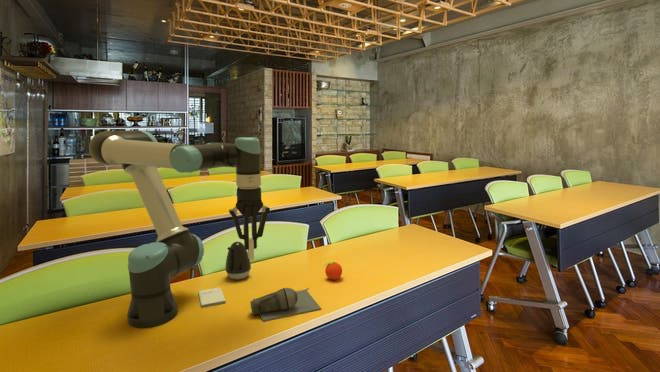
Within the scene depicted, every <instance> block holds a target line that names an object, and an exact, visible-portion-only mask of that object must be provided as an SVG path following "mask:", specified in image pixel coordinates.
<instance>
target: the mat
mask: <svg viewBox="0 0 660 372" xmlns="http://www.w3.org/2000/svg"><path fill="white" fill-rule="evenodd" d="M302 290H303V289H301V290H295V291H296V293H297V292H300V291H302ZM297 297H298V300H297V303H296V304H295V306H294V307H292V308H290V309H287V310H278V311H273V312H267V313H262V314H259V316H260V319H261V320H262V322H268V321H272V320H277V319H283V318H287V317H292V316H297V315H302V314H306V313H307V314H308V313H311V312H316V311H320V310H322V307H321V306H320V305H319V303H318V301H316V300H315V299H314V297H313V296H312V295H311V294H310V292H309V290H306V291H304V292H301V293H299V294H297ZM255 299H257V298H252V300H255Z"/></svg>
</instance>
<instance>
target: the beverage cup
mask: <svg viewBox="0 0 660 372" xmlns="http://www.w3.org/2000/svg"><path fill="white" fill-rule="evenodd" d="M301 290H302V291H300V290H299V291H300V292H297V293H296V291H297V290H295V289H293V288H291V287H283V288H281V289H279V290H277V291H275V292H272V293H268V294H266V295H263V296H259V297H258V298H257V299H256V298H254V299H255V300H253V299H252V300H250V301H249V303H250V308H251V315H253V316H254V315H260V314H262V313H267V312H273V311H278V310H287V309H290V308H292V307H294V306H295V304H296V303H297V300H298V297H297V294H299V293H301V292H304V291H306V290H307V291H309V290H310V288H309V287H308V288H305V289H301Z"/></svg>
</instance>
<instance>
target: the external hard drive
mask: <svg viewBox="0 0 660 372" xmlns="http://www.w3.org/2000/svg"><path fill="white" fill-rule="evenodd" d="M197 293H198V298H199V303H200V307H201V308H209V307H214V306H218V305H224V304H227V303H226V302H227V301H226V299H225V296H224V293H223V291H222V288H221V287H214V288H208V289H203V290H202V289H201V290H199V291H197Z"/></svg>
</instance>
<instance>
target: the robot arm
mask: <svg viewBox="0 0 660 372" xmlns="http://www.w3.org/2000/svg"><path fill="white" fill-rule="evenodd" d="M260 145H261V144H260V139H259V138H258V137H252V136H251V137H247V136H246V137H245V136H244V137H243V136H242V137H236V138H235V139H234V143H228V142H226V143H225V142H208V143H204V144H182V143H171V142H158V140H157V138H156V137H155V136H154V135H153V134H152V133H151V132H149V131H147V130H140V129H132V130H131V129H130V130H106V131H105V130H104V131H101V132H99V133H97V134H95V135H94V136H93V137H92V138H91V140H89V144H88V153H89V155H90V156H91V158H92V159H93V160H94V161H95V162H96V163H98V164H100V165H103V166H120V165H121V166H122V168H123V171H124V172H125V173H126V174H129V175H131V177H132V179H133V182H134V185H135V186H136V189H137V191H138V193H139V195H140V198H141V201H142V202H143V206H144V207H145V209H146V212H147V214H148V216H149V218H150V221H151V224H152V225H153V227H154V229H155V232H156V234H157V238H156V241H155V242H150V243H144V244H142V245H140V246H139V245H138V246H137V247H135V248H133V250H131V251H130V252H129V254H128V257H127V261H128V262H127V263H128V264H127V269H128V274H129V284H130V297H131V298H130V301H129V305H128V310H127V315H126V318H127V324H128V325H129V326H132V327H135V328H140V327H144V328H152V327H157V326H160V325H163V324H165V323H167V322H169V321H171V320H173V319H174V318H175V317H176V316H177V315H178V313H179V306H178V303H177V300H176V298H175V297H174V294H173V292H172V289H171V279H172V278H175V277H176V276H179V275H180V274H182V273H184V272H186V271H189V270H191V269H193V268H194V267H196V266H197V265H199V264H200V263H201V261H202V259H203V257H204V255H205V248H204V244H203V241H202V239H201V238H200V237H199V236H197V234H193V233H191V231H190V230H189V228H188V227H185V226H183V225H182V224H183V223H182V222H181V220H180V217H179V216H178V215H179V214H178V213H177V211H176V209H175V206H174V204H173V202H172V199H171V198H170V195H169V193H168V190H167V188H166V185H165V184H164V181H163V180H162V177H161V174H160V172H159V170H158V168H162V169H163V168H165V169H170V170H171V169H173V170H175V171H177V172H178V173H181V174H182V173H186V174H187V173H193V172H198V171H203V170H211V169H216V168H217V169H218V168H235V171H236V172H235V173H236V174H235V178H236V181H235V182H236V187H237V188H236V203H235V206H234V207H233V208H230V209H229V210H228V212H229V214H230V216H231V217H232V221H233V223H234V226H235V229H236V233H237V236H238V239H240V240H243V241H244V242H243V245H244V247H245V249H246V250H247V252H248V258H249V260H250V261H253V260H255V250H257V247H258V238H261V237H263V234H264V230H265V227H266V226H265V225H266V221H267V217H268V214H269V213H270V211H271V209H270V207H269V206H267V205H265V204H264V203H263V200H262V188H261V185H262V178H261V177H262V173H261V171H262V169H261V154H262V153H261V146H260ZM260 211H261V214H260V219H259V223H258V222H257V219H258V214H259V213H260ZM238 212H239V213H240V214H241V216H242V221H243V222H242V223H243V225H242V226H243V230H242V228H241V225H240V222H239V221H240V220H239V218H238V216H237V215H238ZM249 217H250V218H251V220H250V221H251V224H250V225H251V237H250V235H249V234H250V231H249V229H250V228H249V227H250V225H249ZM258 224H259V225H258ZM257 225H258V226H257ZM257 227H258V228H257ZM242 231H243V232H242Z"/></svg>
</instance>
